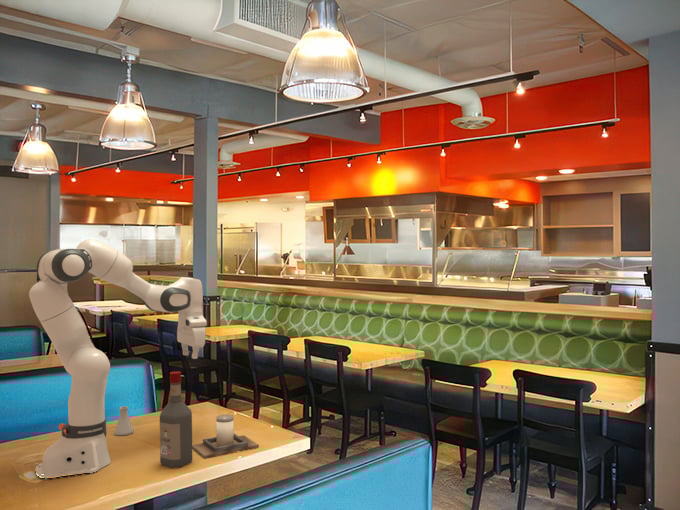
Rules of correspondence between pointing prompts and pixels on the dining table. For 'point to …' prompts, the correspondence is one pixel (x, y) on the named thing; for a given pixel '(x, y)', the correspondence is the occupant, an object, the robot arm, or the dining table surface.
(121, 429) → the flask
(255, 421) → the dining table surface
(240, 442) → the locating board
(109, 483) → the dining table surface
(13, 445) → the dining table surface
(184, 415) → the liquor
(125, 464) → the dining table surface
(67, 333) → the robot arm
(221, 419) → the spice jar
